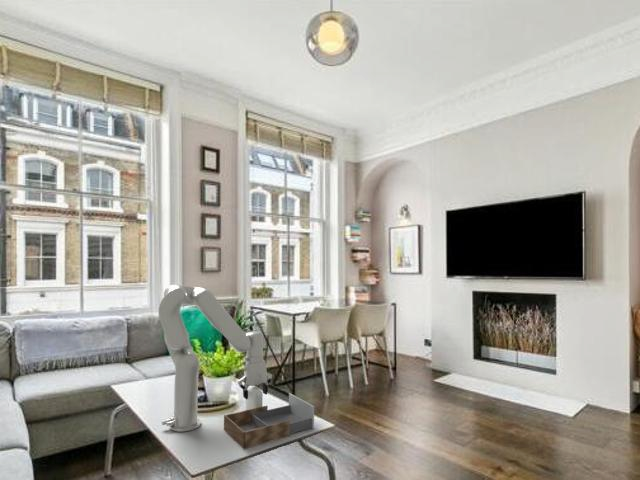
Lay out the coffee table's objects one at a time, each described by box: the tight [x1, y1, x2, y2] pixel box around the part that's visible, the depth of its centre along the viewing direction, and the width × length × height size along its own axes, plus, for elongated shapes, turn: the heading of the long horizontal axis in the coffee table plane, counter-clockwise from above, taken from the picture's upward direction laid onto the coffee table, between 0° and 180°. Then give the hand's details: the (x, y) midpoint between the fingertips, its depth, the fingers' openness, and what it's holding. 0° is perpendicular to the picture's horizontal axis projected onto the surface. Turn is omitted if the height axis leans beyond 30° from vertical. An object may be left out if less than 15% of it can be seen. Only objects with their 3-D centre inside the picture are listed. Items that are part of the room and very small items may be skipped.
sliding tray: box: [250, 392, 315, 435], centre depth 173 cm, size 20×20×9 cm
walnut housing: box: [223, 405, 291, 450], centre depth 166 cm, size 20×20×6 cm
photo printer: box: [245, 385, 264, 410], centre depth 186 cm, size 10×4×12 cm, turn 39°
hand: (255, 396), depth 187 cm, fingers open, 9 cm apart
